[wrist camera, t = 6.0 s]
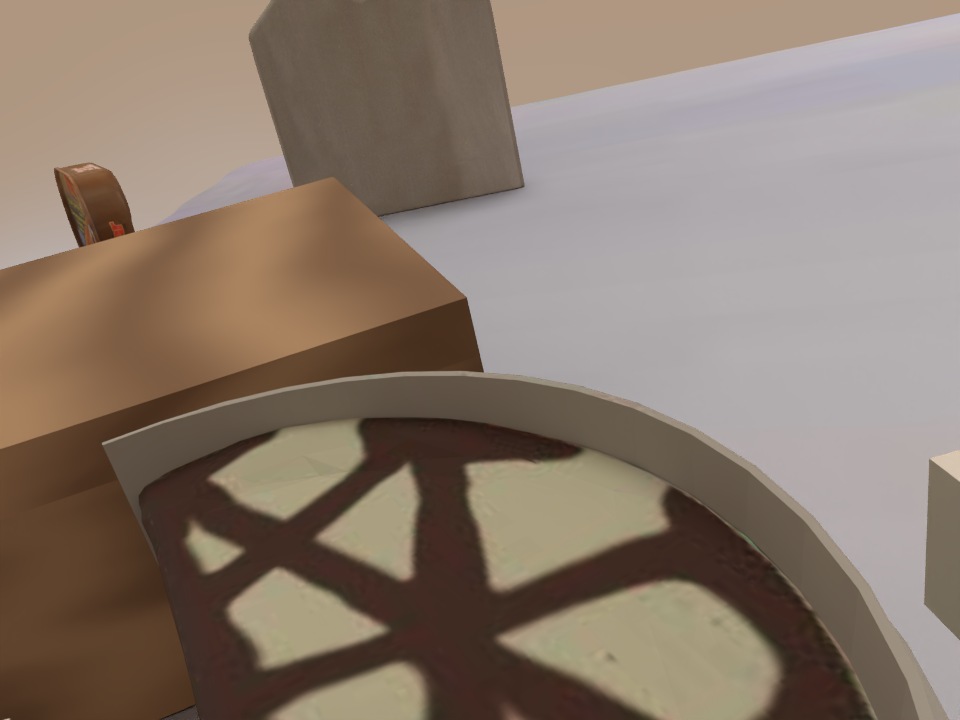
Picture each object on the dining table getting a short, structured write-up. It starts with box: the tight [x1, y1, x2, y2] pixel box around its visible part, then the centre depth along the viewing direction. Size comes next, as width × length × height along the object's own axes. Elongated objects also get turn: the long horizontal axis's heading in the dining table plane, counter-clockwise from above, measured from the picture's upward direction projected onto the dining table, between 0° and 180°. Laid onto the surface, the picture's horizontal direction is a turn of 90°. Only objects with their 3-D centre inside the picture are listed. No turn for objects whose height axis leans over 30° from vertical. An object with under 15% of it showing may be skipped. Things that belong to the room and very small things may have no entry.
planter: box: [249, 0, 524, 217], centre depth 59 cm, size 16×8×19 cm, turn 89°
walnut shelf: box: [0, 177, 484, 720], centre depth 27 cm, size 14×18×8 cm
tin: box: [54, 163, 135, 248], centre depth 55 cm, size 15×3×8 cm, turn 33°
